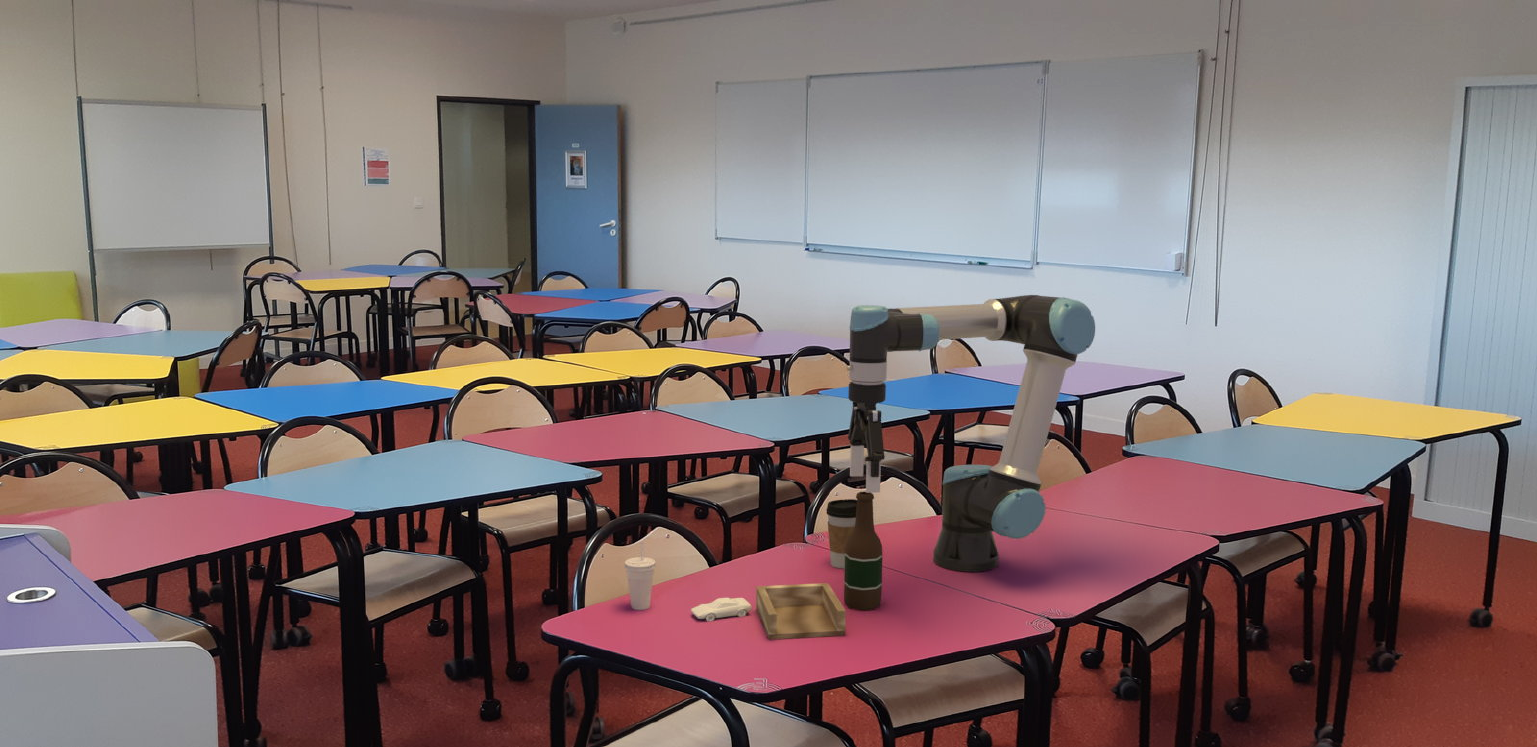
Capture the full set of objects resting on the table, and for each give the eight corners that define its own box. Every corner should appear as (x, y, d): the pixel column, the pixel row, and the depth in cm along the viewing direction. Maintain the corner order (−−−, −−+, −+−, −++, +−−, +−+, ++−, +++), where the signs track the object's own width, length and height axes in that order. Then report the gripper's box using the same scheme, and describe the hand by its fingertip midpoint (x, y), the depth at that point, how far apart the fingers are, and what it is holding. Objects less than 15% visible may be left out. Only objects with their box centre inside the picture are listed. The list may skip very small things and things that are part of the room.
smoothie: (662, 606, 227) (662, 541, 225) (638, 614, 222) (638, 548, 220) (642, 598, 231) (641, 534, 229) (618, 606, 227) (617, 541, 224)
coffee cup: (862, 570, 251) (864, 507, 249) (826, 570, 251) (827, 506, 249) (860, 559, 259) (861, 497, 257) (824, 558, 259) (825, 497, 257)
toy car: (689, 615, 223) (689, 599, 223) (743, 607, 228) (743, 591, 227) (698, 624, 218) (698, 608, 218) (753, 616, 223) (753, 600, 222)
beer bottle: (881, 598, 233) (884, 488, 229) (881, 611, 225) (884, 498, 222) (844, 597, 233) (846, 487, 230) (843, 610, 226) (845, 497, 222)
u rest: (827, 606, 228) (827, 582, 227) (845, 635, 212) (845, 610, 212) (756, 609, 226) (756, 586, 225) (768, 639, 210) (769, 614, 209)
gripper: (835, 373, 234) (833, 470, 237) (864, 392, 209) (861, 499, 213) (869, 372, 235) (867, 469, 238) (902, 391, 211) (898, 498, 214)
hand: (864, 483), depth 225 cm, fingers open, 13 cm apart
